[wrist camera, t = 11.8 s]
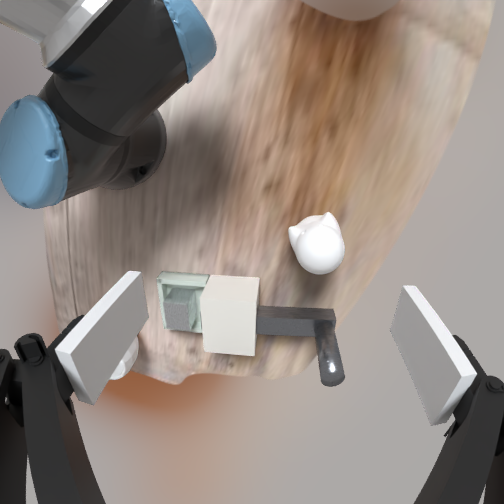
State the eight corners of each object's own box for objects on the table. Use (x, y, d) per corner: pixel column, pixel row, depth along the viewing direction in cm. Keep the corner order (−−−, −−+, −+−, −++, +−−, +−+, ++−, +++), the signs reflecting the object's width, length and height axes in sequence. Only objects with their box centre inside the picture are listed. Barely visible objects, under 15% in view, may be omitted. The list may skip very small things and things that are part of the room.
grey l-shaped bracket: (205, 318, 48) (183, 377, 35) (204, 301, 47) (180, 359, 34) (330, 325, 47) (343, 386, 34) (333, 308, 46) (348, 369, 33)
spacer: (197, 314, 51) (175, 312, 51) (195, 289, 49) (172, 287, 49) (190, 331, 46) (166, 328, 46) (187, 304, 44) (162, 302, 45)
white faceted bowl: (88, 300, 53) (63, 326, 44) (140, 305, 52) (117, 336, 43) (104, 347, 58) (84, 375, 49) (152, 355, 57) (135, 387, 48)
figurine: (327, 201, 42) (344, 224, 31) (343, 246, 45) (362, 281, 34) (283, 218, 44) (284, 247, 33) (301, 262, 46) (307, 302, 35)
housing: (213, 324, 52) (204, 351, 45) (210, 274, 48) (199, 298, 41) (257, 328, 52) (254, 356, 45) (259, 277, 48) (256, 302, 41)
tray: (168, 319, 53) (163, 328, 50) (162, 271, 49) (156, 278, 46) (212, 324, 52) (209, 333, 50) (209, 274, 48) (205, 282, 46)
